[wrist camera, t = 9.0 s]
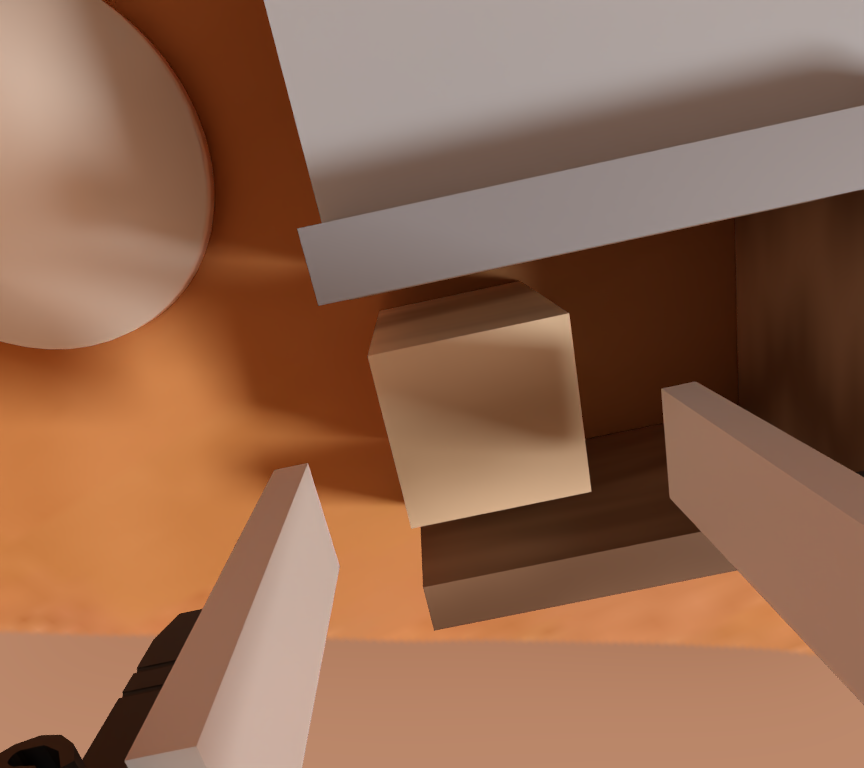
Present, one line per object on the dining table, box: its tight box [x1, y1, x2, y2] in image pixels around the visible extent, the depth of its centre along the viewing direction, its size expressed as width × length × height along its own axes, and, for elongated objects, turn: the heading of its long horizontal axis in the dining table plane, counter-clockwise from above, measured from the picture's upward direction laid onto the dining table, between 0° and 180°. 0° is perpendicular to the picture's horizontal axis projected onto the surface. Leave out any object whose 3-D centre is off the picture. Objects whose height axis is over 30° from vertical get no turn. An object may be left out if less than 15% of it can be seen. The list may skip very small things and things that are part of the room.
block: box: [367, 281, 591, 529], centre depth 17 cm, size 5×5×6 cm
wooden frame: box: [349, 189, 864, 631], centre depth 14 cm, size 20×14×8 cm
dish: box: [0, 0, 215, 349], centre depth 16 cm, size 11×11×1 cm
